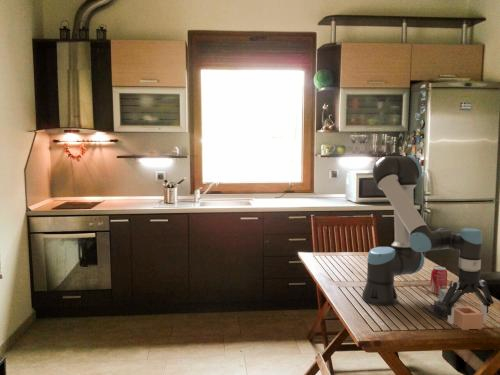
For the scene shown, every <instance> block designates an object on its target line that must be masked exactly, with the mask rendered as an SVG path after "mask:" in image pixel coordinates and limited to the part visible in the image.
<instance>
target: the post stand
mask: <svg viewBox="0 0 500 375" xmlns="http://www.w3.org/2000/svg"><path fill="white" fill-rule="evenodd" d="M448 289H449V288H446V289H439V294H438V300H433V303H434V304H429V305H428V304H427V305H426V304H423V309H425V311H427V312H428V313H430V314H432V316H434V317H436V318H437V319H438V318H439V319H438V320H442V319H441V318H448V315H447V313H446V308H447V306H445V305H443V304H442V301H443V299H444V297H445V295H446V293H447V291H448ZM453 307H457V305H455V304H454V305H453Z"/></svg>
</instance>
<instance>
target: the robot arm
mask: <svg viewBox="0 0 500 375" xmlns="http://www.w3.org/2000/svg"><path fill="white" fill-rule="evenodd" d="M422 175H423V167H422V164H421V162H420V161H419V160H418V159H417V158H416V157H414V156H411V155H410V156H409V155H397V156H396V155H394V156H393V155H386V156H383V157H380V158H378V160H376V162H375V164H374V165H373V168H372V177H373V178H372V179H373V181H374V183H375V185H376V187H377V188H378V189H379V190H381V191H382V192H383V193H384V195H385V197H386V198H387V199H388V201H389V203H390V205H391V206H392V208H393V218H394V222H393V224H394V225H393V226H394V241H393V242H392V243H391V247H390V246H376V247H372V248H370V249H369V251H368V253H367V260H366V261H367V270H366V271H367V272H366V284H365V286H364V288H363V290H362V292H361V293H362V295H361V297H362V300H363V301H364V302H366V303H368V304H370V305H374V306H385V307H387V306H388V307H389V306H394V305H396V304H397V303H398V295H397V291H396V288H395V287H396V286H395V285H394V284H395V277H397V276H404V275H413V274H415V273H418V272H420V270H422V269H423V267H424V265H425V255H424V253H426V252H430V251H440V250H446V249H447V250H453V251H457V252H459V257H458V267H459V268H458V274H457V275H458V281H453V280H451V281H450V284H449V287H448V288H447V289H448V291H447V293H446V295H445V297H444V299H443V301H442V304H443V305H445V306H447V308H446V313H447V315H448V319H447V323H448V324H451V325H454V307H453V305H455V304H457V302H458V301H459V300H460V298H461V297H462V296H463V295H465V294H470V293H471V294H475V295H476V296H477V298H478V299H479V301H480V302H481V303H480V306H479V312H480V313H482V314H483V320H482V323H487V314H488V312H489V307H491V305H493V304H494V303H495V302H494V299H493V297H492V295H491V292H490V291H489V288H488V281H486V280H484V279H481V269H482V268H481V266H482V250H483V242H484V241H483V232H482V231H481V229H478V228H471V227H463V228H461V230H460V231H457V230H454V229H449V228H443V227H439V228H437V229H436V230H434V231H433V230H432V231H431V229H430V228H429V227H428V225H427V223H426V221H424V218H423V217H422V216H421V214H420V212H419V211H418V210H417V208H416V206H415V205H414V204H415V203H414V202H415V201H414V199H415V198H414V189H415V188H416V187H417V186H418V183H417V181H419V180H420V179H421V177H422ZM479 287H480V288H481V290H482V292H481V290H480V289H479ZM482 293H483V294H482Z"/></svg>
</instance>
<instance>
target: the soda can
mask: <svg viewBox="0 0 500 375" xmlns="http://www.w3.org/2000/svg"><path fill="white" fill-rule="evenodd" d="M429 285H430V291H431V292H432V293H433V294H436V295H439V289H448V288H447V287H448V286H447V285H448V271H447V268H446V267H444V266H439V265H438V266H437V265H434V266H432V269H431V272H430V284H429Z"/></svg>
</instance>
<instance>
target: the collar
mask: <svg viewBox="0 0 500 375" xmlns="http://www.w3.org/2000/svg"><path fill="white" fill-rule="evenodd" d="M482 320H483V314H482V313H480V311H478V310H477V309H475V308H474V307H472V306H470V305H467V306H456V307H454V324H455V325H454V324H453V325H454V326H456V325H457V326H458V327H460V328H461V329H462V330H461V329H460V328H459V329H460V330H461V331H470V330H469V329H478V330H482V329H483V322H482ZM457 326H456V327H457ZM458 327H457V328H458Z"/></svg>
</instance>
